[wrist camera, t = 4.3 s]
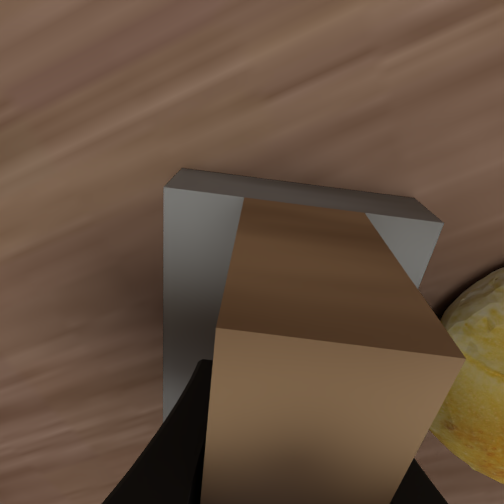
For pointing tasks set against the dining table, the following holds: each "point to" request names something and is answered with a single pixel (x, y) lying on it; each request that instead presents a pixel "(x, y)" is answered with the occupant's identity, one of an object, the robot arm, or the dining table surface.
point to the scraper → (302, 335)
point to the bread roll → (476, 378)
